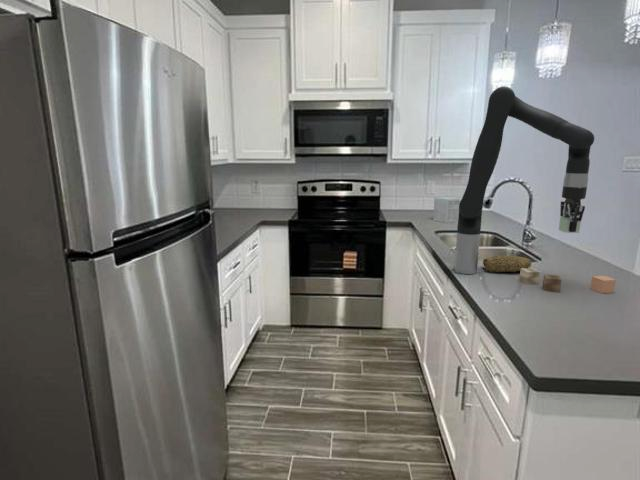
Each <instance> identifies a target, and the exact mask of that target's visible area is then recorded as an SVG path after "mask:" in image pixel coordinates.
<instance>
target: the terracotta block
mask: <svg viewBox="0 0 640 480" xmlns="http://www.w3.org/2000/svg"><path fill="white" fill-rule="evenodd" d="M615 286H616V279H615V278H612V277H609V276H606V275H596V276H595V275H594V276H592V277H591V283H590V287H589V289H590V290H592V291H595V292H597V293H600V294H612V293H615V292H614V291H615Z"/></svg>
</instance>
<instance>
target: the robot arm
mask: <svg viewBox="0 0 640 480" xmlns="http://www.w3.org/2000/svg"><path fill="white" fill-rule="evenodd" d="M509 117H510V118H513V119H516V120H518V121H521V122H523V123H525V124H527V125H528V126H530V127H532V128H534V129H535V130H537V131H539V132H541V133H543V134H545V135H547V136H549V137H550V138H553V139H556V140H559V141H561V142H563V143H565V144H567V145H568V155H567V163H566V169H565V175H564V178H563V183H562V184H563V185H562V189H561V190H562V191H561V198H562V199H565V200H564V201H560V210H559V211H560V213H559V215H560V216H559V217H570V225H569V231H570V232H576V227H577V222H579V221H581V222H582V219H583V215H584V213H585V210H586V206H585V205H582V204H581V201H582V200H584V199H586V195H587V189H588V184H589V183H588V182H589V171H590V163H591V162H590V152H591V146H592V145H593V144H594V143H595V142H594V141H595V135H594V133H593V132H592V131H590V130H589V129H586V128H584V127H582V126H580V125H576V124H574V123H571V122H569V121H568V120H566V119H564V118H562V117H560V116H559V115H556V114H554V113H551V112H550V111H549V112H548V111H546V110H543V109H540V108H538V107H535V106H532V105H530V104H528V103H526V102H525V101H523V100H522V99H521V98H519V97H517V96H516V94H515V92H514V90H513V89H512V88H510V87H508V86H500V87H497V88H495V90H493V91H492V92H491V94H490V95H489V97H488V103H487V110H486V114H485V119H484V124H483V126H482V129H481V131H480V134H479V137H478V139H477V143H476V146H475V147H474V152H473V154H472V155H473V156H472V158H471V163H470V168H469V175H468V179H467V180H468V181H467V184H466V186H465V187H466V188H465V189H464V190H465V191H464V193H463V194H462V195H463V196H462V198H460V203H459V216H458V222H457V229H456V231H457V232H456V243H455V244H456V245H455V248H454V251H453V252H454V254H453V266H452V267H453V268H452V269H453V271H454V272H455V273H456V274H457V273H458V274H464V275H474V274H477V273H478V264H479V262H478V261H479V251H480V241H481V231H482V230H481V228H482V218H483V217H482V216H483V215H482V214H483V208H484V206H483V205H484V200H485V195H486V191H487V187H488V184H489V182H490V179H491V178H492V175H493V173H494V171H495V168H496V165H497V162H498V158H499V155H500V152H501V149H502V148H501V147H502V142H503V137H504V131H505V130H504V129H505V125H506V122H507V120H508V118H509Z"/></svg>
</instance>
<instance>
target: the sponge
mask: <svg viewBox="0 0 640 480" xmlns="http://www.w3.org/2000/svg"><path fill="white" fill-rule="evenodd" d="M482 264H483V266H484V268H485V271H486V272H488V271H489V272H490V273H491V272H492V273H496V272H497V273H503V272H505V273H506V272H507V273H515V272H520V270H521V268H531V267H532V260H531V259H529V258H528V257H523V256H517V255H511V254H510V255H509V254H507V255H506V254H505V255H501V256H496V255H495V256H492V257H488V258H484V259H483V261H482ZM489 272H488V273H489Z"/></svg>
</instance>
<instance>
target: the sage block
mask: <svg viewBox="0 0 640 480" xmlns="http://www.w3.org/2000/svg"><path fill="white" fill-rule="evenodd" d="M581 222H582V220H581V221H579V222H577V227H576V232H570V231H569V225H570V217H561V216H559V226H558V231H560V232H562V233H569V234H571V233H572V234H573V233H576V234H577V233H579V234H580V228H581Z"/></svg>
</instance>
